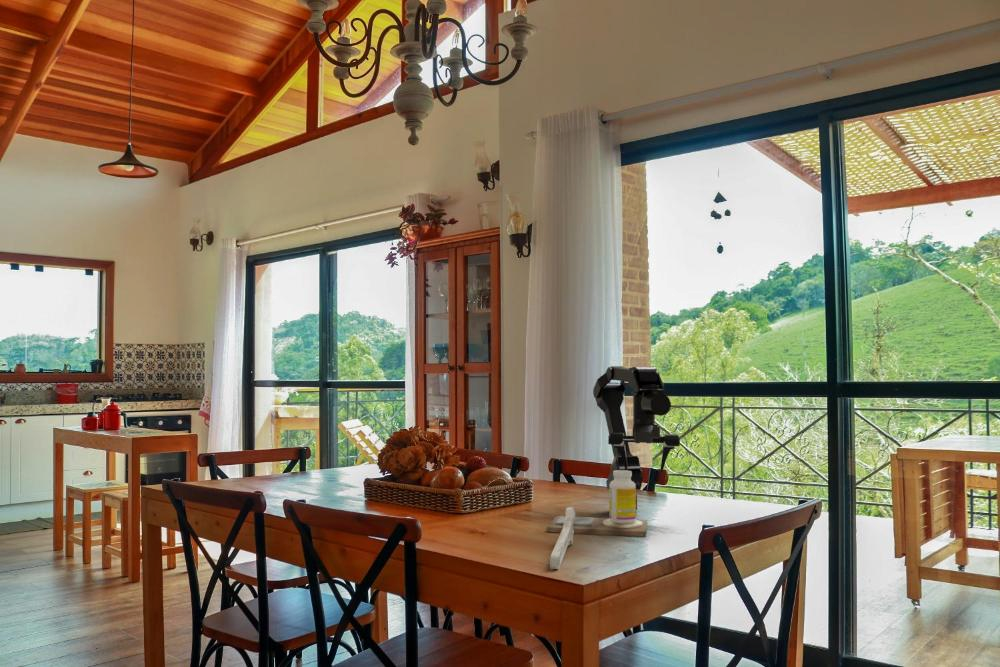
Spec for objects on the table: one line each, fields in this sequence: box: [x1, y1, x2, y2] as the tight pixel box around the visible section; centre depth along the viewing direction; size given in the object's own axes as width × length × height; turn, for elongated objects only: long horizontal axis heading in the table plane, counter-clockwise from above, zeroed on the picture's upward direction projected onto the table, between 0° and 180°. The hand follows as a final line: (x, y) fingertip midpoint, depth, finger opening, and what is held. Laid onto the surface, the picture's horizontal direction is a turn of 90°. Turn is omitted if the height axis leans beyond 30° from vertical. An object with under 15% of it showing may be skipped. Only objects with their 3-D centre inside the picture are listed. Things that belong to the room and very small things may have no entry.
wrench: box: [549, 506, 576, 570], centre depth 184 cm, size 8×2×30 cm
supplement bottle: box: [608, 470, 637, 524], centre depth 211 cm, size 7×7×13 cm
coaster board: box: [547, 515, 648, 537], centre depth 212 cm, size 24×15×2 cm, turn 79°
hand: (643, 471), depth 223 cm, fingers open, 9 cm apart
